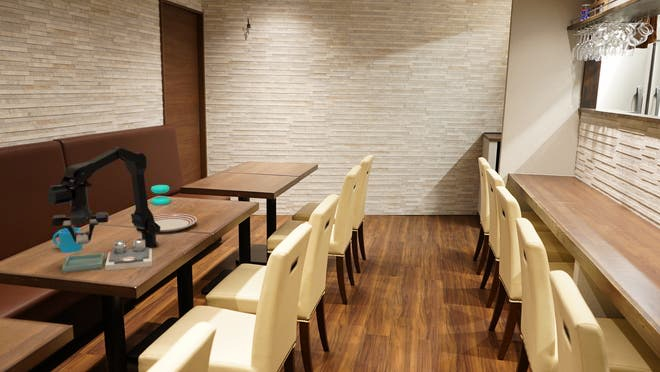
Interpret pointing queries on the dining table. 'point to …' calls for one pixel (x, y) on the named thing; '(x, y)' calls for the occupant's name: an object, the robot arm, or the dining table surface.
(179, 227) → the dinner plate
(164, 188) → the donuts
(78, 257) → the tray
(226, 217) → the dining table surface
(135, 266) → the scale
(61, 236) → the mug
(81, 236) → the cylinder
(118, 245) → the cylinder
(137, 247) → the cylinder
